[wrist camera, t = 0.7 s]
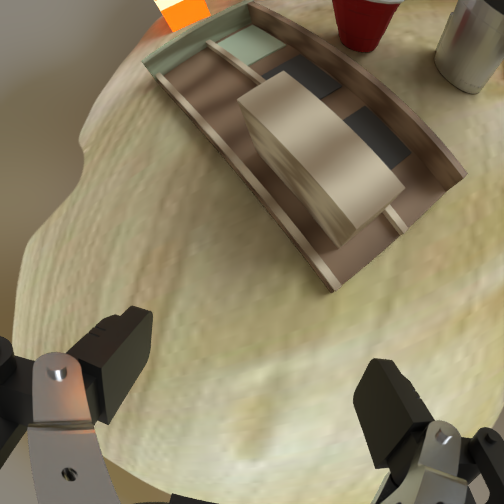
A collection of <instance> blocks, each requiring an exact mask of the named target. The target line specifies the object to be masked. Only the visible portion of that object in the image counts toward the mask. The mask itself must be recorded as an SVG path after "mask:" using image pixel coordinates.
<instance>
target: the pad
mask: <svg viewBox="0 0 504 504" xmlns="http://www.w3.org/2000/svg"><path fill="white" fill-rule="evenodd" d="M218 45H219V46H221V47H222V48H223V49H225V50H226V51H228V52H229V53H231V54H232V55H233V56H235V57H236V58H238V59H239V60H240V61H242V62H243V63H244V64H246V65H247V66H248V67H249V66H250V65H252V64H254V63H256V62H257V61H259V60H261V59H263V58H264V57H266V56H268V55H270V54H272V53H274V52H276V51H277V50H279V49H281V48H283V47H285V46H286V44H284V43H283V42H281V41H279V40H278V39H276V38H275V37H273V36H271V35H270V34H268V33H266V32H265V31H263V30H261V29H260V28H258V27H256V26H254V25H251V26H249V27H247V28H245V29H243V30H241V31H239V32H237V33H236V34H234V35H232V36H230V37H228V38H226V39H225V40H223V41H221V42H219V43H218Z"/></svg>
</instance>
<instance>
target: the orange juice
mask: <svg viewBox="0 0 504 504" xmlns="http://www.w3.org/2000/svg"><path fill="white" fill-rule="evenodd" d="M154 1H155V2H156V4H157V6H158V8H159V9H160V11H161V13H162V14H163V16H164V18H165V20H166V21H167V23H168V25H169V26H170V28H171V29H172V31H173V32H175V31H177V30H179V29H181V28H183V27H185V26H187V25H190V24H192V23H194V22H196V21H198V20H201V19H203V18H205V17H208V16H210V13H209V10H208V8H207V5H206V3H205V1H204V0H154Z"/></svg>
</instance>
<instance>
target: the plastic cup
mask: <svg viewBox="0 0 504 504" xmlns="http://www.w3.org/2000/svg"><path fill="white" fill-rule="evenodd" d="M403 1H405V0H332V2H333V7H334V12H335V18H336V24H337V26H338V32H339V37H340V40H341V42H342V43H343V44H344V45H345V46H346V47H348V48H350V49H352V50H354V51H358V52H370V51H373V50H374V49H375V48H376V46H377V45H378V44H379V41H380V39H381V37H382V36H383V35H384V33H385V31H386V29H387V27H388V25H389V23H390V21H391V18H392V16H393V14H394V12H395V11H396V10H397V8H398V7H399V5H400V3H402V2H403Z"/></svg>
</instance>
